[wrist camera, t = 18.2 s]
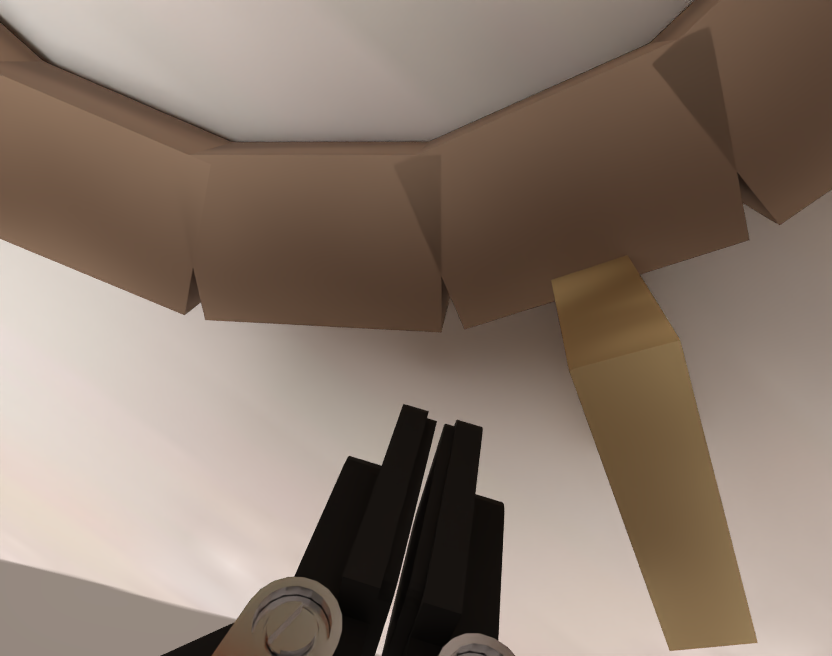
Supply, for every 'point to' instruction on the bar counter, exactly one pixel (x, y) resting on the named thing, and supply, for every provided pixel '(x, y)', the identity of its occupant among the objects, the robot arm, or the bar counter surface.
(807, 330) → the bar counter surface
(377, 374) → the bar counter surface
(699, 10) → the turning ring
